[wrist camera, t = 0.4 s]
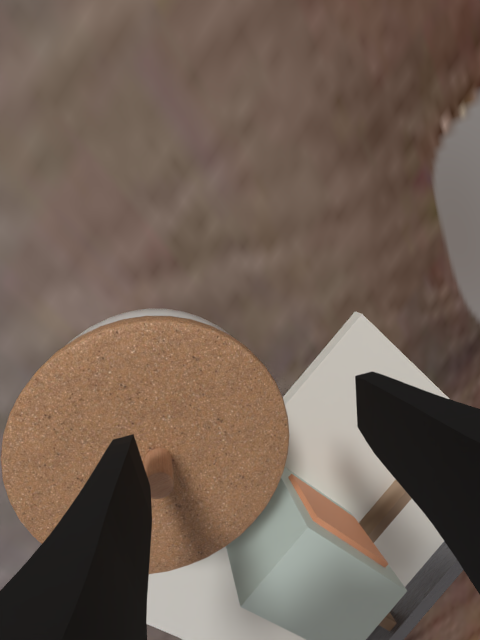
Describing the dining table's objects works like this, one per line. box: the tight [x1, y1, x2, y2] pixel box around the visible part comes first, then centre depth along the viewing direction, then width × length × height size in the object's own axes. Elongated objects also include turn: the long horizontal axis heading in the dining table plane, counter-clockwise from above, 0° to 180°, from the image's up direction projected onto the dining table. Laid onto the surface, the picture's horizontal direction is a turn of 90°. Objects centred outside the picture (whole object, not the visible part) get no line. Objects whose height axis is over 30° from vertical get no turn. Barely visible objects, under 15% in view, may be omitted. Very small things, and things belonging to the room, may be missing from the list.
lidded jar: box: [1, 309, 289, 574], centre depth 17 cm, size 11×11×9 cm
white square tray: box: [146, 312, 464, 640], centre depth 25 cm, size 24×20×2 cm
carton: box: [226, 467, 407, 640], centre depth 21 cm, size 5×8×6 cm, turn 49°
